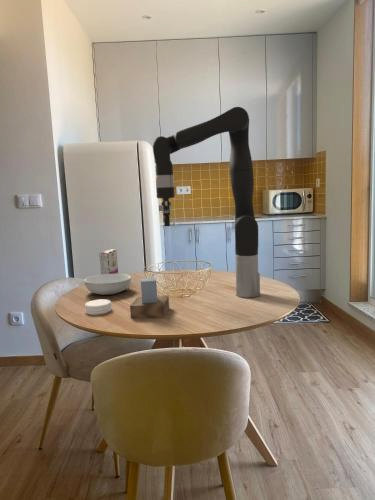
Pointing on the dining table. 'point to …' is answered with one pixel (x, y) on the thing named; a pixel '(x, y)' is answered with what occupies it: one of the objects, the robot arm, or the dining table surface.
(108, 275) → the serving bowl
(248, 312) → the dining table surface
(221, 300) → the dining table surface
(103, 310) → the white round disc
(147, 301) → the slate-blue block
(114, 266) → the candy bar box
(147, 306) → the walnut block
